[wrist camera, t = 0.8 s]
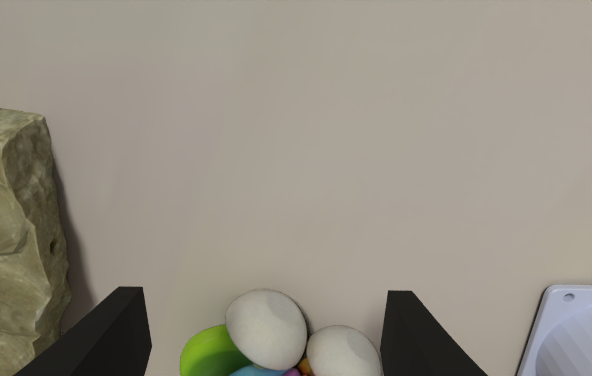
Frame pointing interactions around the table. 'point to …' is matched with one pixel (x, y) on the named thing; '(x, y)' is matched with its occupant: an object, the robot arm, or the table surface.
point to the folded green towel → (29, 242)
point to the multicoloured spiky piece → (276, 343)
